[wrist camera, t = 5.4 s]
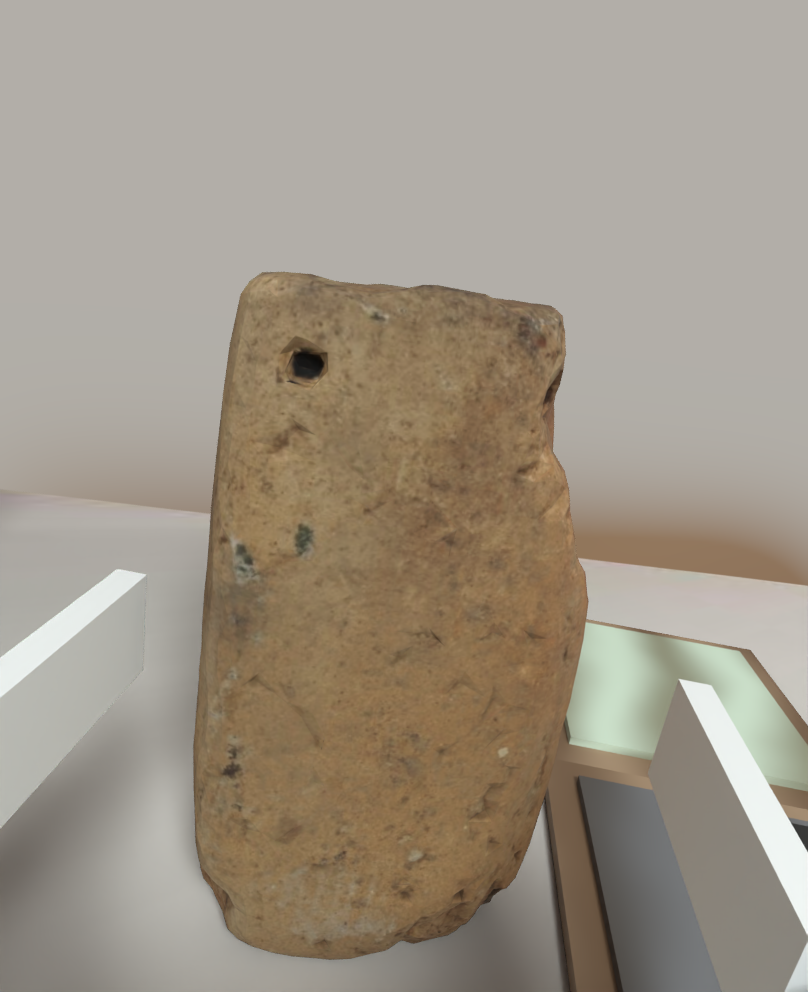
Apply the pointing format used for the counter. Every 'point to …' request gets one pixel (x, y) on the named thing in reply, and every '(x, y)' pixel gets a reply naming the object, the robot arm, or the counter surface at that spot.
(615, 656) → the board
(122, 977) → the counter surface
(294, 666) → the block
